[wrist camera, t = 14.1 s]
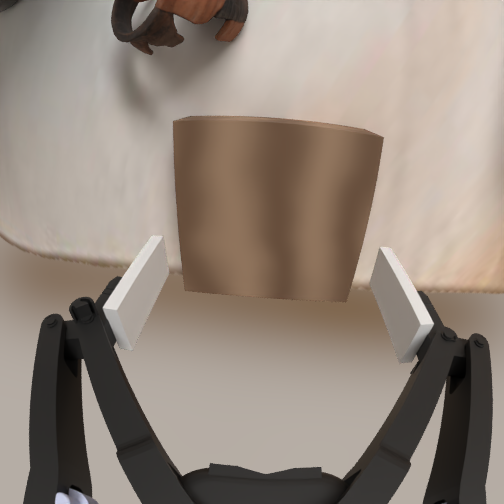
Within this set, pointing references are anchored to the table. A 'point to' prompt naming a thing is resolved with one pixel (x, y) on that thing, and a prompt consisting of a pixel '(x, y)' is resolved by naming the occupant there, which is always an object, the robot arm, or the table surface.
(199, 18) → the broken clay pottery vessel
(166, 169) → the table surface
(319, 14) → the table surface
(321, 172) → the brown wooden square block
